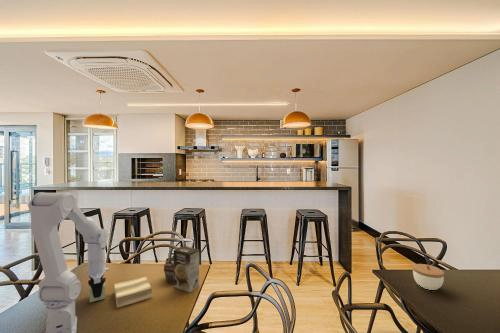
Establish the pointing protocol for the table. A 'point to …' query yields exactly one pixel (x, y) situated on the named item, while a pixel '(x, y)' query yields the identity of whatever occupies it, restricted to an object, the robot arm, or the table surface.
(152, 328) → the table surface
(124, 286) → the birch block
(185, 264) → the coffee box
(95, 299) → the sage cube
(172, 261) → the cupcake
